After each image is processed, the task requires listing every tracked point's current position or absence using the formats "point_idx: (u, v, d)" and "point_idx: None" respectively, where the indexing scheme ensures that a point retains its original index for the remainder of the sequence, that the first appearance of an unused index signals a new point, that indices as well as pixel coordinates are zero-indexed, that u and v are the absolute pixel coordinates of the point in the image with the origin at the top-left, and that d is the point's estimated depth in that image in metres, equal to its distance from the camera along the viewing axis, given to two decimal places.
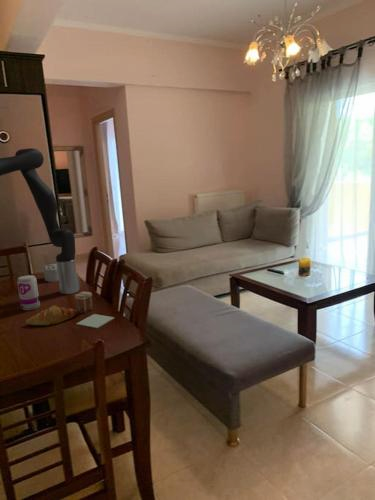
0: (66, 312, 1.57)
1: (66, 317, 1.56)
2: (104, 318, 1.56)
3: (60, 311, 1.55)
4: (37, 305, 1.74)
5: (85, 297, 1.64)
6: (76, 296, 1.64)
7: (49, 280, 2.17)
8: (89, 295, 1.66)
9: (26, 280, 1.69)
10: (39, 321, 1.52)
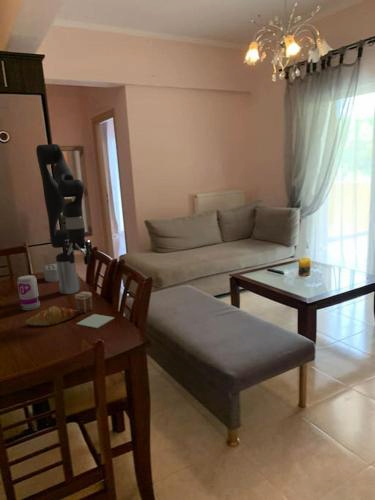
0: (66, 312, 1.56)
1: (66, 317, 1.56)
2: (104, 318, 1.56)
3: (60, 311, 1.55)
4: (37, 305, 1.74)
5: (85, 297, 1.64)
6: (76, 296, 1.64)
7: (49, 280, 2.18)
8: (89, 295, 1.66)
9: (26, 280, 1.69)
10: (39, 321, 1.52)
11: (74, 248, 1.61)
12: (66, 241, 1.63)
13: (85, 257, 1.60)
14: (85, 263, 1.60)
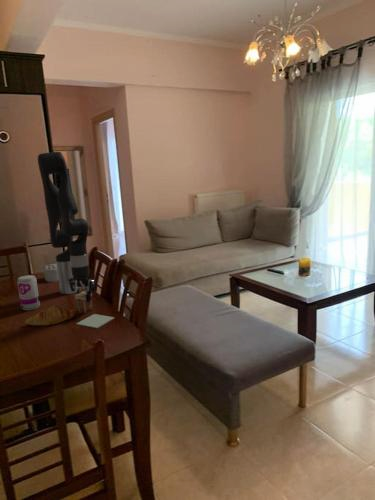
0: (65, 312, 1.56)
1: (65, 317, 1.56)
2: (104, 318, 1.56)
3: (59, 311, 1.55)
4: (37, 305, 1.74)
5: (85, 297, 1.64)
6: (76, 296, 1.64)
7: (49, 280, 2.18)
8: None
9: (26, 280, 1.69)
10: (38, 321, 1.52)
11: (79, 284, 1.64)
12: (71, 279, 1.67)
13: (87, 295, 1.64)
14: (87, 301, 1.64)
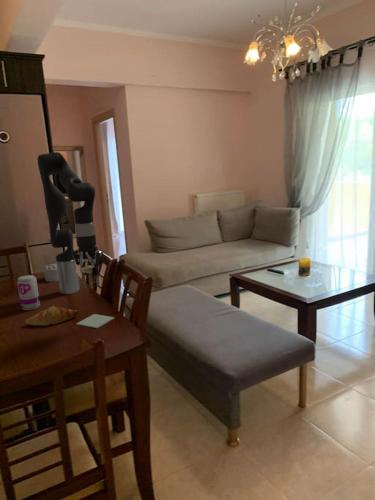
0: (65, 313, 1.56)
1: (65, 318, 1.56)
2: (104, 318, 1.56)
3: (59, 312, 1.54)
4: (37, 305, 1.74)
5: (91, 270, 1.48)
6: (82, 269, 1.48)
7: (50, 280, 2.18)
8: None
9: (26, 280, 1.69)
10: (38, 321, 1.52)
11: (85, 257, 1.48)
12: (76, 251, 1.51)
13: (94, 268, 1.48)
14: (94, 275, 1.48)
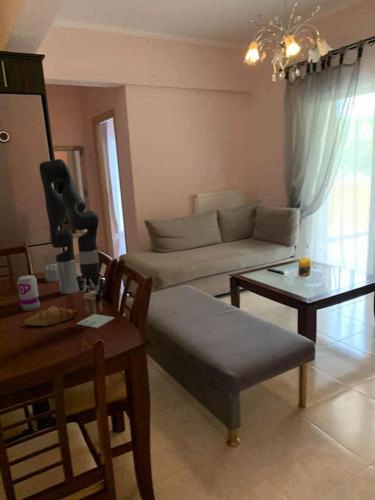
0: (65, 313, 1.56)
1: (65, 318, 1.56)
2: (104, 318, 1.56)
3: (59, 312, 1.54)
4: (37, 305, 1.74)
5: (95, 297, 1.50)
6: (85, 295, 1.51)
7: (50, 280, 2.18)
8: None
9: (26, 280, 1.69)
10: (37, 321, 1.52)
11: (88, 283, 1.51)
12: (79, 277, 1.53)
13: (97, 295, 1.50)
14: (97, 301, 1.50)
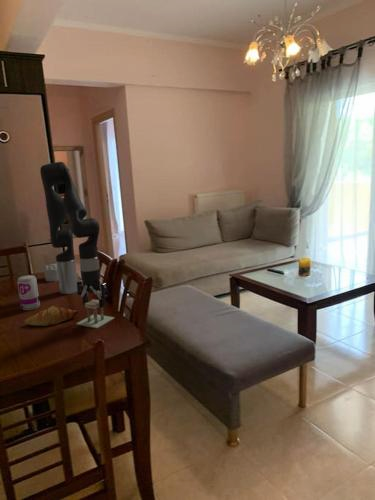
0: (64, 313, 1.56)
1: (64, 318, 1.55)
2: (104, 318, 1.56)
3: (58, 312, 1.54)
4: (37, 305, 1.74)
5: (96, 306, 1.51)
6: (87, 305, 1.51)
7: (50, 280, 2.18)
8: None
9: (26, 280, 1.69)
10: (37, 321, 1.52)
11: (88, 290, 1.51)
12: (80, 282, 1.54)
13: (100, 300, 1.50)
14: (100, 306, 1.50)
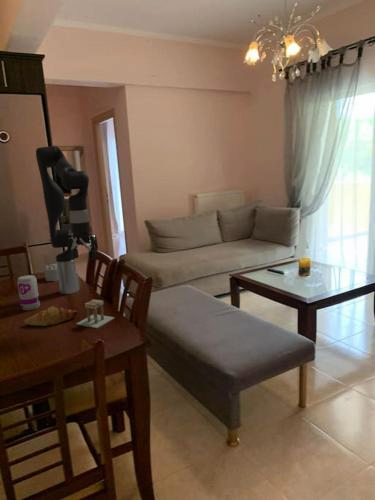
0: (64, 313, 1.55)
1: (64, 318, 1.55)
2: (104, 318, 1.56)
3: (58, 312, 1.54)
4: (37, 305, 1.74)
5: (96, 306, 1.51)
6: (87, 305, 1.51)
7: (50, 280, 2.18)
8: (100, 304, 1.53)
9: (26, 280, 1.69)
10: (37, 321, 1.52)
11: (78, 243, 1.55)
12: (70, 235, 1.57)
13: (90, 252, 1.53)
14: (90, 258, 1.54)
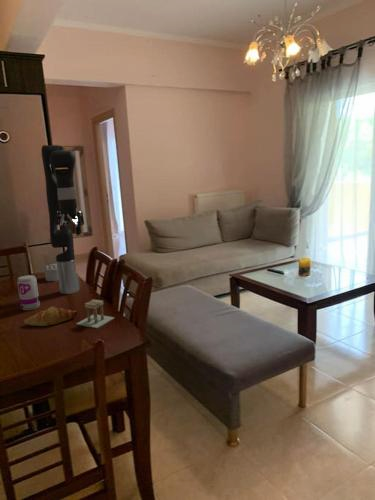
0: (64, 313, 1.55)
1: (64, 318, 1.55)
2: (104, 318, 1.56)
3: (57, 312, 1.54)
4: (37, 305, 1.74)
5: (96, 306, 1.51)
6: (87, 305, 1.51)
7: (50, 280, 2.18)
8: (100, 304, 1.53)
9: (26, 280, 1.69)
10: (36, 321, 1.52)
11: (66, 219, 1.64)
12: (58, 212, 1.66)
13: (77, 228, 1.62)
14: (77, 233, 1.63)
